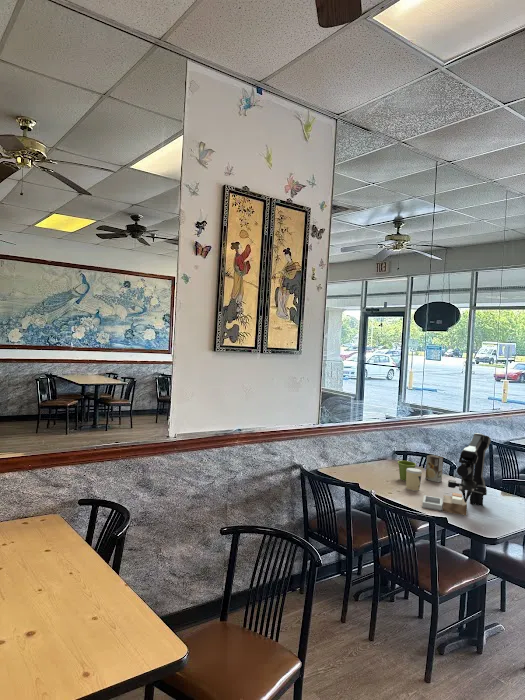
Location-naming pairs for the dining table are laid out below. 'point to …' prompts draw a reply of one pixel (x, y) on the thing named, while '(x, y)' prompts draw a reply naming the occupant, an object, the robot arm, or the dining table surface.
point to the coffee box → (434, 468)
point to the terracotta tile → (457, 495)
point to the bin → (432, 503)
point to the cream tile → (457, 500)
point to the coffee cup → (413, 479)
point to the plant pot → (403, 466)
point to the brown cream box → (454, 506)
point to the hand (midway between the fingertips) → (465, 502)
